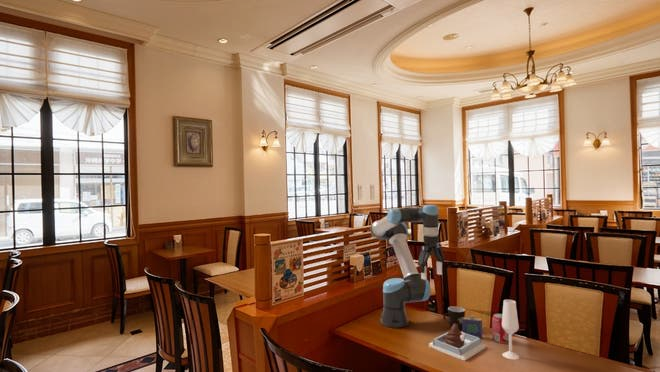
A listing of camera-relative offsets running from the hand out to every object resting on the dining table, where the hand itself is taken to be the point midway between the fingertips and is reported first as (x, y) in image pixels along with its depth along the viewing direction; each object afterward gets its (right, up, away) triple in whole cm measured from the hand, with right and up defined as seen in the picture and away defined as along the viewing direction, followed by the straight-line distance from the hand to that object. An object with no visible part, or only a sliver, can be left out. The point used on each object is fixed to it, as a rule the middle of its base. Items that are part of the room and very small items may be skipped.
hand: (431, 276), depth 183 cm
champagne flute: (+27, -28, -26) cm, 47 cm away
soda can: (+30, -28, -11) cm, 43 cm away
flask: (+19, -29, -6) cm, 35 cm away
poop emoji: (+6, -27, -17) cm, 33 cm away
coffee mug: (+13, -29, +5) cm, 32 cm away
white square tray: (+7, -29, -17) cm, 34 cm away
